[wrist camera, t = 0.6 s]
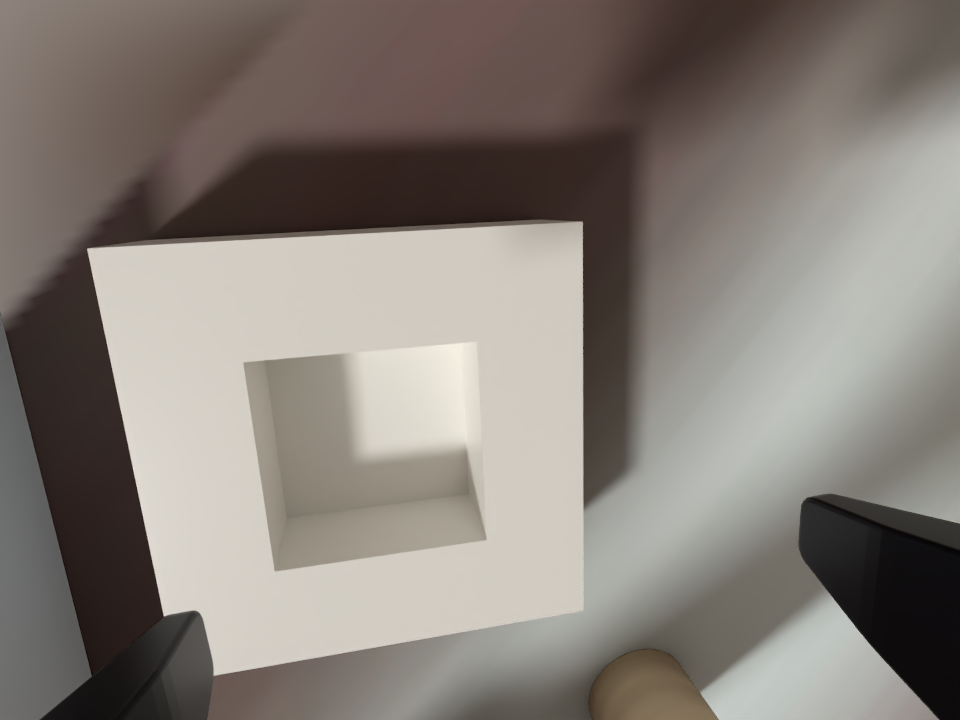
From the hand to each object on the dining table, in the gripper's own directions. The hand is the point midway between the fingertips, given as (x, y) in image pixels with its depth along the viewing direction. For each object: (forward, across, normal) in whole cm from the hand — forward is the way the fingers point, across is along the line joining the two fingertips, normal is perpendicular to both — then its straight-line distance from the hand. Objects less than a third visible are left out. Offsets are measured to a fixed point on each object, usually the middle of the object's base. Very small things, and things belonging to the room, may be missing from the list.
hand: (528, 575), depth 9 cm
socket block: (+12, +2, +1) cm, 12 cm away
